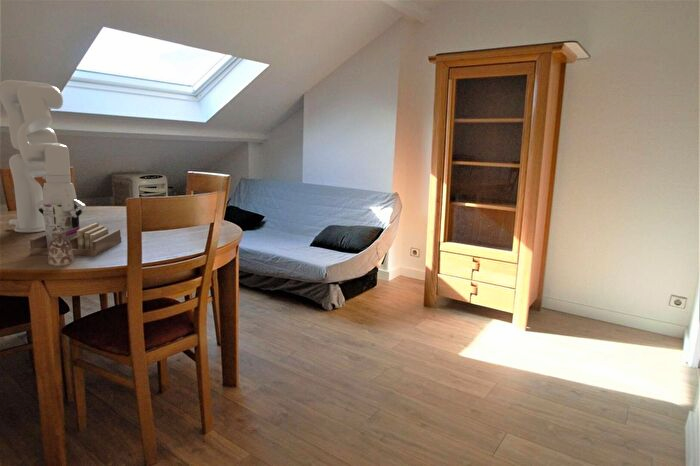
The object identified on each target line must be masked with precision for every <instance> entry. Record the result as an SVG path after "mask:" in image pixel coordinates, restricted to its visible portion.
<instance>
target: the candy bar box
mask: <svg viewBox="0 0 700 466" xmlns="http://www.w3.org/2000/svg"><path fill="white" fill-rule="evenodd" d="M78 207H79V206H78V205H77V209H76V210H77V211H78V210H79V208H78ZM43 213H44V222H45V231H44V232H45V234H46V241H47V248H49V244H50V242H51V241H52V240H53V237H52V231H53V229H54V228H56V227H57V226H61V227H62V228H64V229H65V230H66V239H67V240H68V239H70V238H73V237H75V236H77V230H79V229H81V228H80V224H79V225H78V227H76V228H72V217H73V215H72V214H71V213H70V212H63V211H62V208H61V205H51V204H50V205H43Z"/></svg>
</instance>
